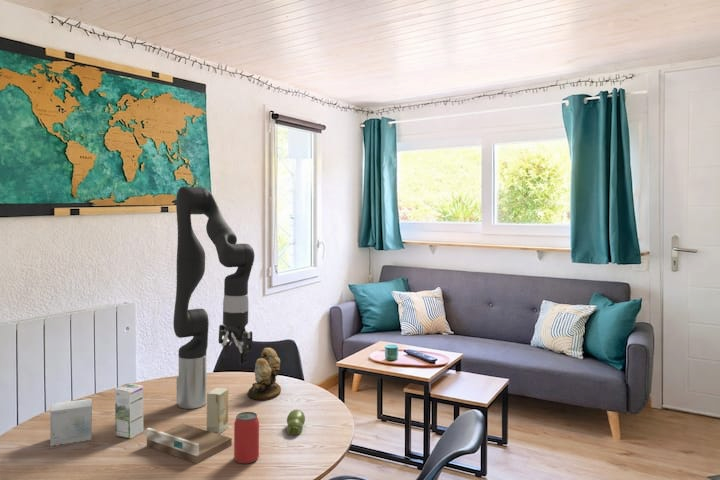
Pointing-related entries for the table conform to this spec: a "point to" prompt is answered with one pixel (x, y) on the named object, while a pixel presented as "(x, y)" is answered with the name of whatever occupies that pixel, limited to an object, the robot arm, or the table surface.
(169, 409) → the table surface
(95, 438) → the table surface
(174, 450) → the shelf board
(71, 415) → the skincare box
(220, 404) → the skincare box
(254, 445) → the beer can
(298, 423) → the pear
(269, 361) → the brown lumpy upright piece
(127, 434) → the syrup box
